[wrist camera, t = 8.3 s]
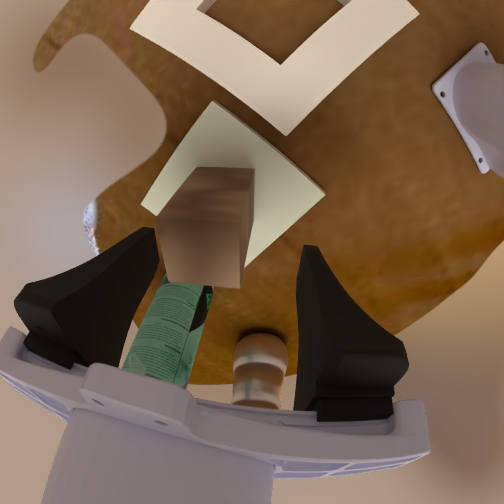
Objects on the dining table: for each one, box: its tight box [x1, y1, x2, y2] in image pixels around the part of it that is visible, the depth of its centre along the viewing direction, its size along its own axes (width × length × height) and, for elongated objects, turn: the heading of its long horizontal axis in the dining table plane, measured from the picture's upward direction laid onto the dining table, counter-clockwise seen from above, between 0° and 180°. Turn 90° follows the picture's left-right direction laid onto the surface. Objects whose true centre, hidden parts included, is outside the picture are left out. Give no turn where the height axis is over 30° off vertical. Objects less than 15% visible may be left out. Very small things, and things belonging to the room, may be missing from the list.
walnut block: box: [156, 167, 255, 289], centre depth 19 cm, size 4×4×8 cm
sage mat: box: [141, 100, 325, 267], centre depth 22 cm, size 11×11×1 cm
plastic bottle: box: [231, 333, 288, 410], centre depth 26 cm, size 6×7×20 cm
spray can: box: [122, 273, 214, 390], centre depth 21 cm, size 6×6×20 cm
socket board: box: [130, 0, 419, 136], centre depth 12 cm, size 14×14×2 cm
